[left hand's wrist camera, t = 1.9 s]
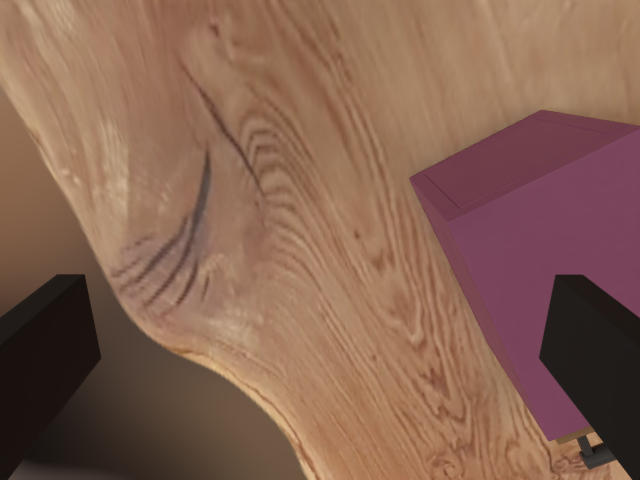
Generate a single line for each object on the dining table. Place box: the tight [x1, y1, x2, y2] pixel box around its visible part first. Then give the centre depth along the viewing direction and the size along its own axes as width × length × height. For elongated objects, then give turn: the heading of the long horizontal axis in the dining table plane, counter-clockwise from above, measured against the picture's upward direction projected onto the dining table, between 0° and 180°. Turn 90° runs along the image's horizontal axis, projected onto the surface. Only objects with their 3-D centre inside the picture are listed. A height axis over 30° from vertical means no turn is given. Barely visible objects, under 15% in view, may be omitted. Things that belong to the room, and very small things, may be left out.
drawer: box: [555, 426, 617, 469], centre depth 31 cm, size 21×9×9 cm, turn 28°
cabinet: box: [409, 110, 640, 441], centre depth 30 cm, size 16×10×11 cm, turn 28°
